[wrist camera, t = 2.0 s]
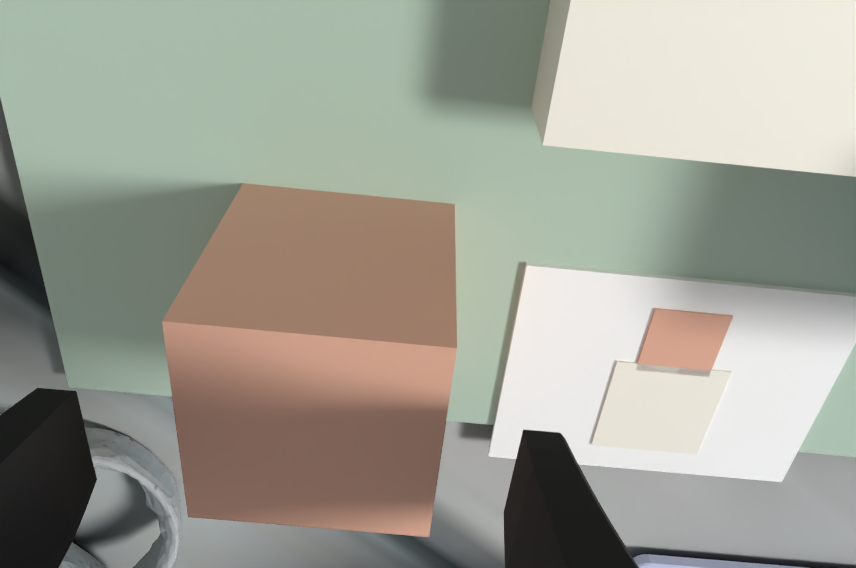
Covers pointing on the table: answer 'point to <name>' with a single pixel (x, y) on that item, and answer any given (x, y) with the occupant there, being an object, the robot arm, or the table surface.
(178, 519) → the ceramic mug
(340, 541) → the table surface
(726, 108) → the cream base brick
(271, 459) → the terracotta brick
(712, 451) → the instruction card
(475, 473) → the table surface
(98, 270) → the build plate
